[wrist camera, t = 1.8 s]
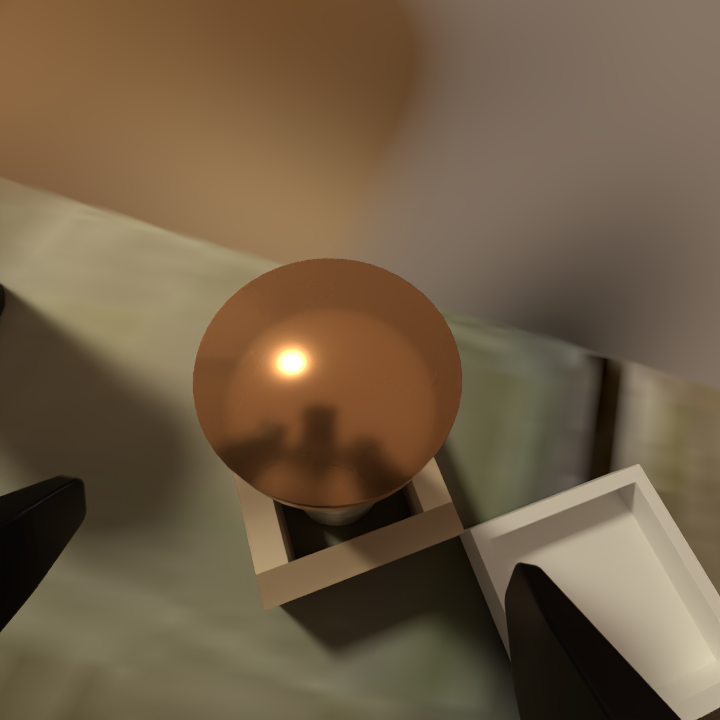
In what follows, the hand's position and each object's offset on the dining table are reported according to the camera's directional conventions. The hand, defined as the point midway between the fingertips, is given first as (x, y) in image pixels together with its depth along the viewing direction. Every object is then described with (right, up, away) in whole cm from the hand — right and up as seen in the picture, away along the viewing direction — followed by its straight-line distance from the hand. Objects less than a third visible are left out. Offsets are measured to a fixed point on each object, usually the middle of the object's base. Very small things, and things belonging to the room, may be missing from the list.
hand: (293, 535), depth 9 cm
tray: (+11, -6, +9) cm, 16 cm away
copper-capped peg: (0, -2, +11) cm, 11 cm away
